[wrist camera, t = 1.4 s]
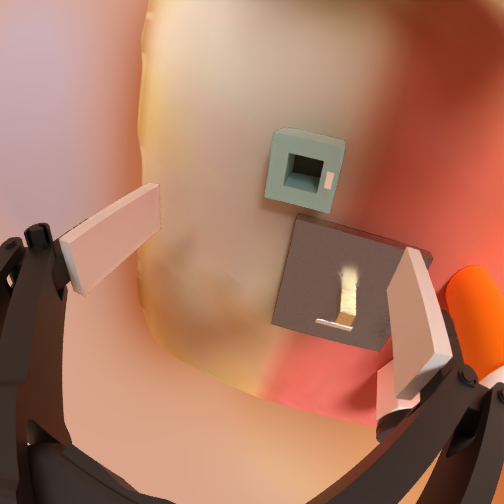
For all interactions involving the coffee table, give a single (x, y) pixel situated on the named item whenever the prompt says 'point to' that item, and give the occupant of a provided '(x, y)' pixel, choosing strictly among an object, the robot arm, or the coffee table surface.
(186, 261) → the coffee table surface
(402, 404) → the jar
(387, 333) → the hub plate
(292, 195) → the teal open box
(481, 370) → the shaker bottle
